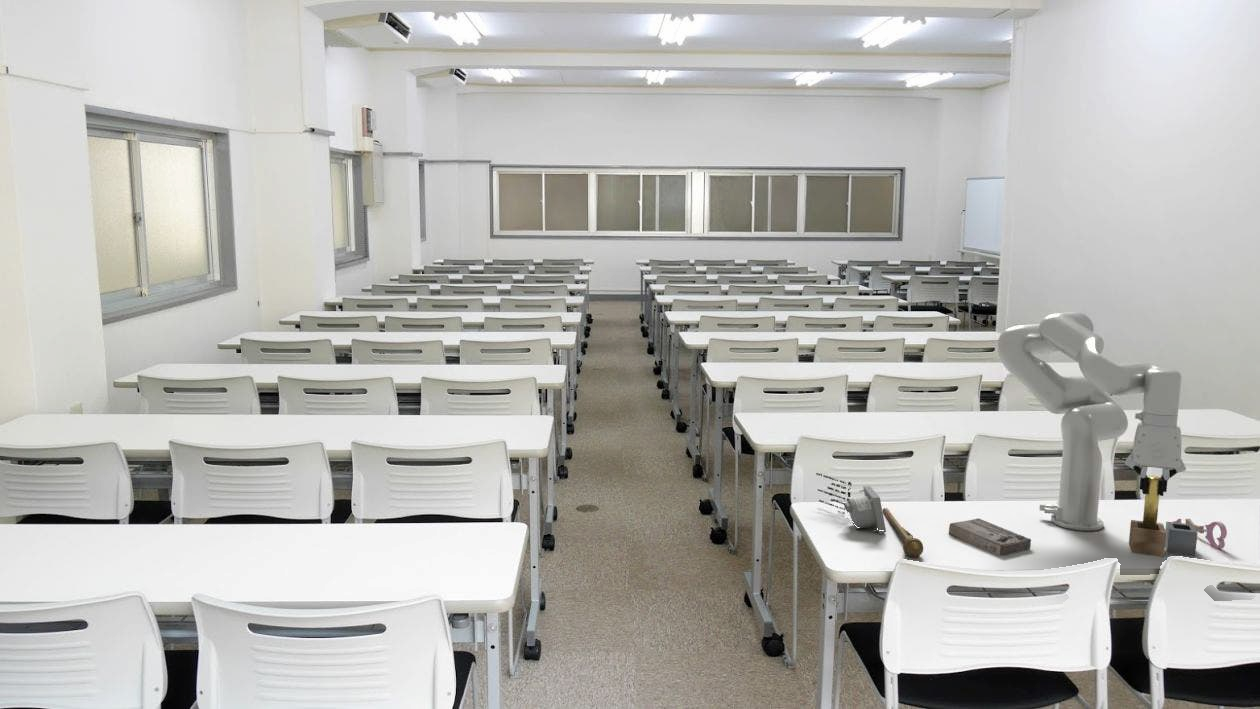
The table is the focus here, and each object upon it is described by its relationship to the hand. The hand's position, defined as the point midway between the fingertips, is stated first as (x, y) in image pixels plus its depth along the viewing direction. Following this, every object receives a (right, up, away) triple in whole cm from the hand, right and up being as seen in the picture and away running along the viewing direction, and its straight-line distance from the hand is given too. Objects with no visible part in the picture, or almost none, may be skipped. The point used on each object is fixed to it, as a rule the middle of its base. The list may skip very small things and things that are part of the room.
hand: (1152, 492), depth 237 cm
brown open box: (0, -14, +3) cm, 15 cm away
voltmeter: (-68, -11, +23) cm, 73 cm away
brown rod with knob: (-58, -13, +12) cm, 61 cm away
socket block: (+8, -14, +2) cm, 17 cm away
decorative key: (+17, -13, +12) cm, 25 cm away
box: (-37, -14, +8) cm, 40 cm away
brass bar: (0, -8, +1) cm, 8 cm away
